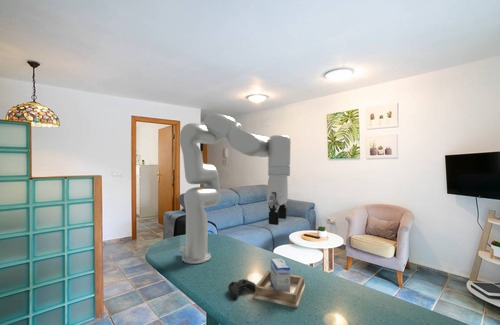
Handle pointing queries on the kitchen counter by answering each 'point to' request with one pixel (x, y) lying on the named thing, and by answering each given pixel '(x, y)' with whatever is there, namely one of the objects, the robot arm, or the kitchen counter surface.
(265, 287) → the wooden tray
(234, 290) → the gaming controller
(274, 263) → the medicine box
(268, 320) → the kitchen counter surface
